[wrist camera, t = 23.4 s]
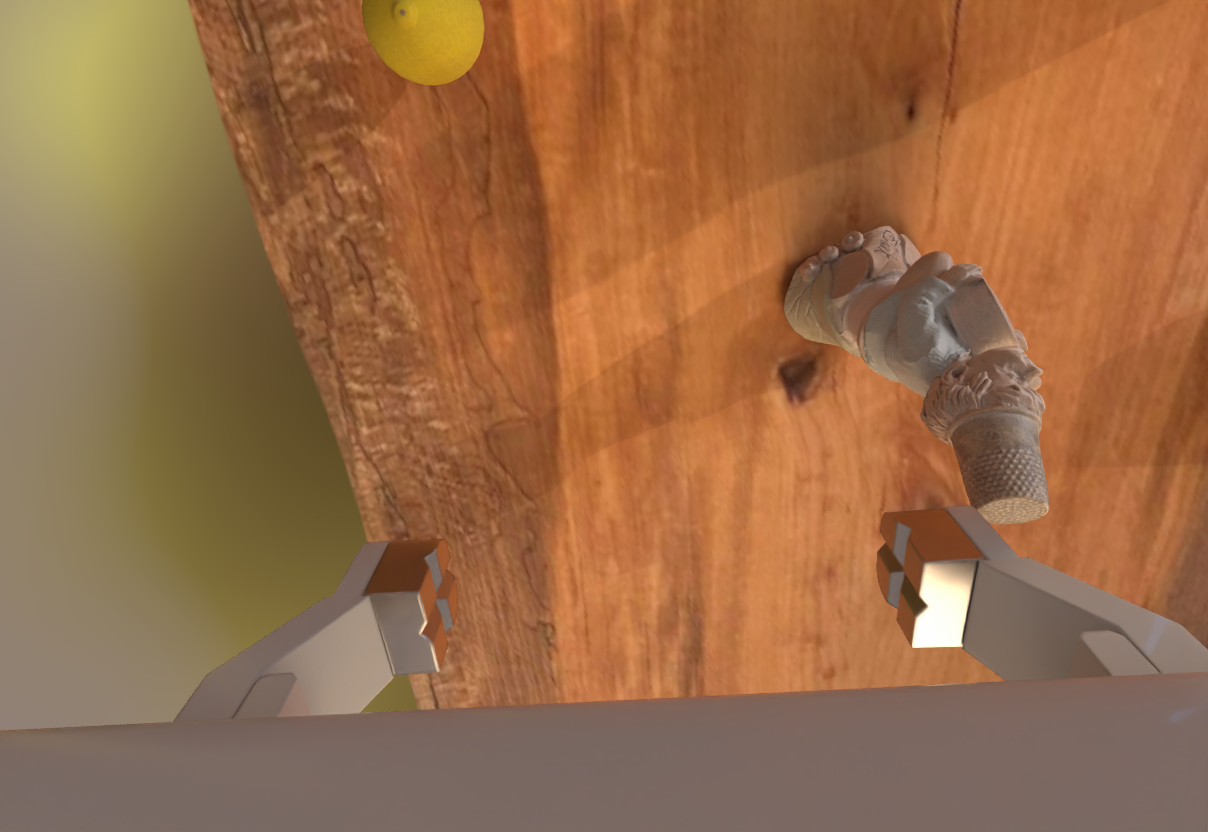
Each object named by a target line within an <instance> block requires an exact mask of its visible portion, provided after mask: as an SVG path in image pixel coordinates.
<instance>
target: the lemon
mask: <svg viewBox="0 0 1208 832" xmlns="http://www.w3.org/2000/svg"><path fill="white" fill-rule="evenodd" d="M362 13H363V23H364V26H365V29H366V33H367V36H368V39H369V41H370V42H371V44H372V46H373V48H374V50H375V51H376V53H377V54H378V56H379V57H380V58H381V59H382V60H383V61H384V63H385V64H386V65H387V66H388V67H389V68H390V69H392V70H393V71H394V72H396V73H397V74H399V75H400V76H401V77H403V78H405V79H408V80H410V81H413V82H415V83H418V84H425V85H440V84H447V83H449V82H451V81H453V80H455V79H458V78H460V77H461V76H462V75H463V74H465V73H466V72H467V71H468V70H469V69H470V68H471V67H472V65H473V64H474V62H475V61H476V59H477V57H478V56H479V53H480V50H481V47H482V43H483V35H484V21H483V13H482V9H481V6H480V3H479V0H363V2H362Z"/></svg>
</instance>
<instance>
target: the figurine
mask: <svg viewBox="0 0 1208 832" xmlns="http://www.w3.org/2000/svg"><path fill="white" fill-rule="evenodd" d="M982 272H983V269H982V268H981V267H980V266H977V265H975V264H965V263H960V264H957V265H954V263H953V260H952V258H951V256H950V254H949V253H946V252H942V251H935V252H931V253H929V254H926V255H924V256H922V257H921V255H920V253H919V251H918V250H917V248H916V247H915V246H914V245H913V243H912V242H911V241H910V240H909V239H908V238H907V237H906V236H905V235H903V234H899V235H897V233H896V232H895V231H894V230H893V229H892V228H891V227H890V226H883V227H879V228H876V229H875V230H872V231H868V232H866V233H864V234H861V233H860V232H856V231H851V232H848V233H847V234H845V235H844V237H843V239H842V241H841V243H839V244H837V245H835V246H831V245H829V246H826V247H824V248H823V249H822V250H821V251H820V252H819V254H818V255H815V256H812V257H809V258H807V260H806V261H805V262H804V263H803V264H801V265H800V266H799V268H798V269H797V270H796V272H795V274H794V276H793V277H792V281H791V283H790V286H789V288H788V290H787V291H788V292H787V294H786V297H785V305H784V312H785V316H786V318H787V321H788V322H789V324H790V325H791V326H792V328H793V330H794V331H795V332H797V333H798V334H801V335H802V337H804V338H806V339H807V340H811V341H815V342H819V343H820V342H822V343H824V344H831V345H837V346H839V347H841V348H843V349H845V350H846V351H847V352H849V353H851V354H852V355H854V356H857V357H862V359H863V360H864V362H865V363H866V364H867V365H868V366H869V367H870V368H871V369H872V370H873V371H875V372H876V373H878V374H880V375H882V376H885V377H886V379H888V380H890V381H894V382H901V383H902V384H904V385H905V386H906V387H907V388H909V389H910V390H912V391H914V392H916V393H918V394H920V395H922V396H923V397H925V399H924V401H923V409H922V412H921V414H920V417H921V419H922V421H923V422H925V423H926V425H927V427H928V428H929V430H930V431H931V432H933V433H934V434H935V436H936V437H937V438H939V440H940V441H944V443H946V444H948V445H952V446H953V447H954V450H955V453H956V456H957V459H958V463H959V467H960V470H961V474H962V478H963V482H964V485H965V489H966V492H967V495H968V497H969V501H970V504H971V506H972V507H974V508H975V509H976V510H977V511H978V512H979V513H980V514H981V515H982V516H983V518H984V519H985V520H986V521H987V522H988V523H994V524H1003V525H1005V524H1018V523H1025V522H1027V521H1032V520H1037V519H1039V518H1041V517H1043V516H1044V515H1045V514H1046V513H1047V511H1048V510H1049V498H1048V488H1047V482H1046V478H1045V472H1044V468H1043V462H1042V458H1041V452H1040V446H1039V437H1038V434H1039V433H1040V431H1041V426H1042V425H1041V422H1042V419H1041V415H1042V412H1044V410H1045V403H1044V401H1043V398H1042V397H1041V396H1040V395H1039V394H1038V393H1037V392H1036V390H1037V389H1038V388H1039V387H1040V385H1041V379H1040V377H1038V376H1040V375H1041V374H1042V373H1043V371H1042V369H1041V368H1038V367H1037V366H1035V365H1034V363H1033V362H1031V361H1030V360H1029V358H1028V356H1027V355H1025V354H1024V352H1026V351H1027V349H1028V345H1027V343H1026V341H1025V338H1024V335H1023V334H1022V333H1021V332H1020V331H1019V330H1016V329H1014V328H1013V325H1012V323H1011V321H1010V320H1009V318H1008V316H1007V314H1006V312H1005V310H1004V308H1003V306H1002V305H1001V303H1000V301H999V299H998V298H997V296H996V294H995V293H994V292H993V290H992V289H991V288H990V286H989V285H988V283H987V282H986V281H985V279H984V278H983V277H982V275H981V274H982Z"/></svg>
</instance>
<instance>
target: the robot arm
mask: <svg viewBox="0 0 1208 832" xmlns="http://www.w3.org/2000/svg"><path fill="white" fill-rule="evenodd" d="M880 533H881V534H882V536H883V538H884V539H885V541H886V543H885V544H884V545H883V546H882V547H881V548H880V549H879V550H878V552H877V564H876V568H877V576H878V583H879V586H880V589H881V592H882V594H883V596H884V598H885V600H886V602H887V603H889V604H890V605H892V606H894V607H895V608H897V609H898V612H897V622H898V624H899V626H900V627H901V629H902V631H903V633H904V635H905V636H906V638H907V640H908V642H909V644H910V645H911V647H952V646H962V649H964V650H965V651H966V652H968V653H969V654H970V655H972V656H973V657H974V658H976V659H977V660H978V661H980V662H981V663H982V664H984V665H985V666H987V667H988V668H989V669H991V670H992V671H993V672H995V673H996V674H997V675H999V676H1000V677H1001V678H1003V679H1004V680H1006V681H1004V682H983V683H963V684H943V685H922V686H902V687H882V688H861V689H841V690H821V691H800V692H780V693H760V694H739V695H719V696H698V697H678V698H657V699H637V700H616V701H596V702H575V703H555V704H534V705H514V706H493V707H473V708H452V709H432V710H411V711H393V712H372V713H371V712H370V713H360V712H361V711H362V710H363V709H364V708H365V707H366V706H367V705H368V704H369V703H370V702H371V701H372V699H373V698H374V697H375V696H376V695H377V694H378V693H379V692H380V691H381V690H382V689H383V688H384V687H385V686H386V685H387V684H388V683H389V682H390V681H391V680H392V679H393V676H394V675H407V674H419V673H432V672H440V669H441V666H442V663H443V660H444V656H445V653H446V650H447V647H448V641H447V636H446V632H448V631H449V630H450V629H451V628H452V627H454V624H455V620H456V617H457V609H458V589H457V583H456V578H455V576H454V575H453V574H452V573H451V572H450V571H448V570H447V567H448V564H449V561H450V558H451V556H450V552H449V549H448V545H447V542H446V541H445V540H444V539H430V540H406V541H392V542H391V541H383V542H368V543H366V544H364V545H362V546H361V548H360V550H359V551H358V553H357V555H356V556H355V558H354V560H353V562H352V563H351V565H350V567H349V569H348V571H347V572H346V574H345V576H344V577H343V579H342V581H341V583H340V585H339V586H338V588H337V589H336V591H335V593H334V595H333V596H332V598H324V599H322V600H321V601H319V602H318V603H316V604H314V605H313V606H311V607H310V608H308V609H307V610H305V611H304V612H302V613H301V614H299V615H298V616H296V617H294V618H293V619H291V620H290V621H288V622H287V623H285V624H284V625H282V626H281V627H279V628H278V629H276V630H275V631H273V632H271V633H270V634H269V635H267V636H265V637H264V638H262V639H261V640H259V641H258V642H256V643H255V644H253V645H252V646H250V647H249V648H247V649H245V650H244V651H243V652H241V653H239V654H238V655H236V656H235V657H233V658H232V659H230V660H229V661H227V662H226V663H224V664H222V665H221V666H220V667H218V668H216V669H215V670H213V671H212V672H210V673H209V674H207V675H206V676H205V678H204V679H203V680H202V682H201V683H200V685H199V686H198V687H197V689H196V690H195V692H194V693H193V694H192V696H191V697H190V698H189V700H188V701H187V703H186V704H185V705H184V707H183V708H182V710H181V711H180V713H179V714H178V715H177V717H176V718H175V720H174V721H173V722H167V723H146V724H127V725H105V726H87V727H65V728H45V729H25V730H4V731H0V832H1208V649H1206V648H1205V647H1204V646H1203V645H1202V644H1201V643H1200V642H1199V641H1198V640H1197V639H1196V638H1195V637H1194V636H1192V635H1191V634H1190V633H1189V632H1188V631H1187V630H1186V629H1185V628H1184V627H1183V626H1182V625H1180V624H1178V623H1176V622H1173V621H1171V620H1169V619H1167V618H1164V617H1162V616H1160V615H1157V614H1155V613H1153V612H1151V611H1148V610H1146V609H1144V608H1142V607H1139V606H1137V605H1135V604H1133V603H1130V602H1128V601H1126V600H1124V599H1121V598H1119V597H1117V596H1114V595H1112V594H1110V593H1108V592H1105V591H1103V590H1101V589H1099V588H1096V587H1094V586H1092V585H1090V584H1087V583H1085V582H1083V581H1081V580H1078V579H1076V578H1074V577H1071V576H1069V575H1067V574H1065V573H1062V572H1060V571H1058V570H1056V569H1053V568H1051V567H1049V566H1047V565H1044V564H1042V563H1040V562H1037V561H1035V560H1033V559H1031V558H1019V557H1018V555H1017V554H1016V553H1015V552H1014V551H1013V550H1012V549H1011V548H1010V547H1009V545H1008V544H1007V543H1006V542H1005V541H1004V540H1003V539H1002V538H1001V536H1000V535H999V534H998V533H997V532H996V531H995V530H994V529H993V528H992V526H991V525H990V524H989V523H988V522H987V521H986V520H985V519H984V518H983V516H982V515H981V514H980V513H979V512H978V511H977V510H976V509H975V508H974V507H972V506H969V505H964V506H953V507H942V508H938V509H925V510H911V511H898V512H885V513H884V514H883V517H882V519H881V525H880Z"/></svg>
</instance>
